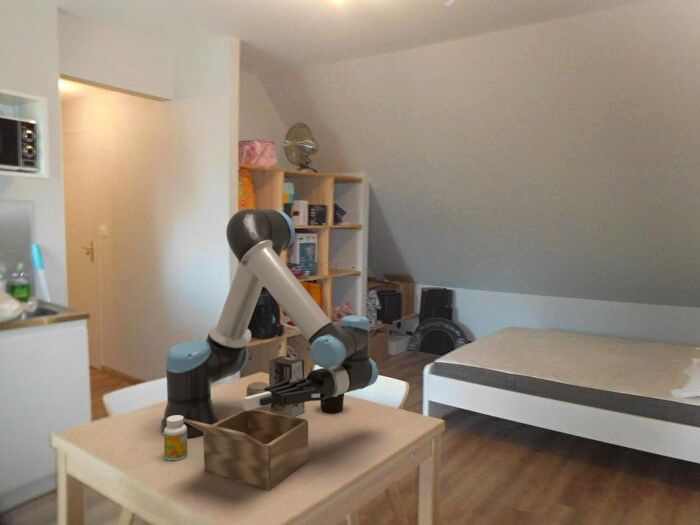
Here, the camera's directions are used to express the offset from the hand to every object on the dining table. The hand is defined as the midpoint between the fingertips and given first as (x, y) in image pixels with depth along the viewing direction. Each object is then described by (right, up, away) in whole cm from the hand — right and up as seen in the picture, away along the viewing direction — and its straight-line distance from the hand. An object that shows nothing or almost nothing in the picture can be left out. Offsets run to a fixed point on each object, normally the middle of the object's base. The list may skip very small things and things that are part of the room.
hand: (245, 404), depth 119 cm
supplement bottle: (-20, -16, +12) cm, 28 cm away
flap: (-4, -5, -4) cm, 7 cm away
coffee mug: (+18, -14, +46) cm, 51 cm away
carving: (-3, -15, +32) cm, 35 cm away
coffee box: (+4, -14, +43) cm, 45 cm away
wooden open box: (+1, -17, +7) cm, 18 cm away
